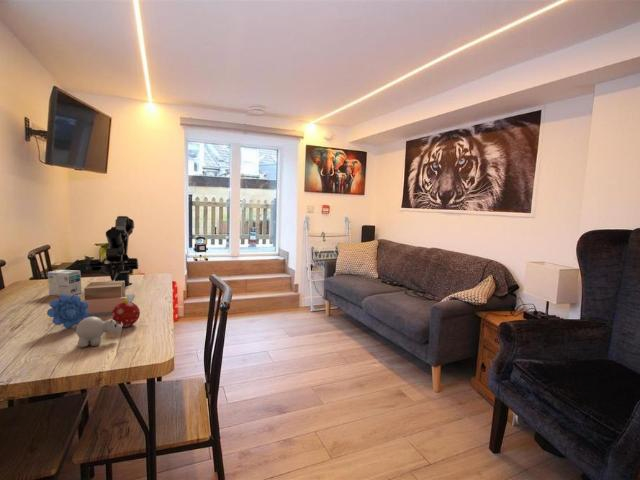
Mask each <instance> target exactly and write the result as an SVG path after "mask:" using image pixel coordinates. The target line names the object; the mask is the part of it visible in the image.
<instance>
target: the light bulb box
mask: <svg viewBox="0 0 640 480" xmlns="http://www.w3.org/2000/svg"><path fill="white" fill-rule="evenodd" d="M81 274H82V273H81V270H71V269H56V270H52V271H48V272H47V281H48V283H47V284H48V294H49V296H58V297H59V296H61V295H63V294H65V295H68V296H69V297H71V296H73V295H78V294H81V293H82V292H83V291H82V276H81Z"/></svg>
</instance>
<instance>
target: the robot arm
mask: <svg viewBox="0 0 640 480" xmlns="http://www.w3.org/2000/svg"><path fill="white" fill-rule="evenodd" d="M134 229H135V222H134V219H132V218H129V216H127V215H118V216H116V219H115V225H114V226H111V228H109V229H107V230H106V231H105V237H106V239H107V240H106V241H107V244H108V245H109V246H108V248H105V260H104V261H103V262H102V261H101V259H100V258H93V259H90V260H89V261H88V267H89V269H90V271H92V272H100V271H101V270H102V268H104V271H105V272H106V273H108V274H109V276H110V277H109V278H110V281H125V287H127V286H130V285H133V283H132V282H130V275H131V274H133V273H134V270H138V269H139V262H138V261H139V260H138V258H137V257H135V258H134V257H129V255H128V249H129V239H130V238H129V237H130V235H132V233H133V232H134V231H133V230H134Z"/></svg>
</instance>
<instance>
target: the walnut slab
mask: <svg viewBox="0 0 640 480" xmlns="http://www.w3.org/2000/svg"><path fill="white" fill-rule="evenodd" d="M83 288H84V289H83V290H84V294H83V295H84V300H90V299H104V298H118V297H125V295H126V286H125V281H115V280H114V281H112V280H109V281H92V282H90V283H88V284H87V285H86V286H84V287H83Z"/></svg>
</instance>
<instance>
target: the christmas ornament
mask: <svg viewBox="0 0 640 480" xmlns="http://www.w3.org/2000/svg"><path fill="white" fill-rule="evenodd" d="M140 315H141V310H140V308H139V306H138V305H137V304H135V302H133V301H132V302H128V300H127V298H125V299H124V300H123V302H122V303H120V304H118V305H117V306H116V307H115V308H114V309H113V311H112V315H111V317H112V316H113V320H115V321H116V323H117V324H119V325H120V324H121V322H122V323H123V326H122V328H126V327H130V326H132V325H134V324H135V323H137V322H138V320H139V319H140Z"/></svg>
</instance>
